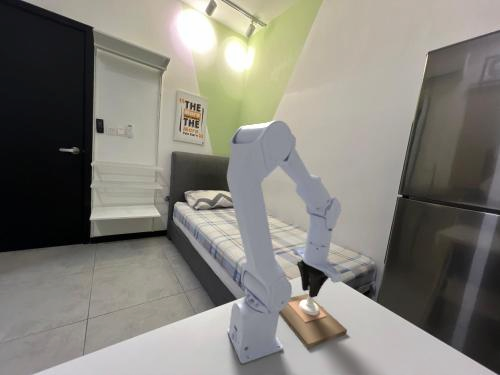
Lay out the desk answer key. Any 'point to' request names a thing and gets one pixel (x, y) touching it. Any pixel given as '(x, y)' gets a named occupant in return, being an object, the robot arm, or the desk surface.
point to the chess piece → (309, 306)
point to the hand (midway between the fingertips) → (309, 292)
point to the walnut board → (311, 323)
